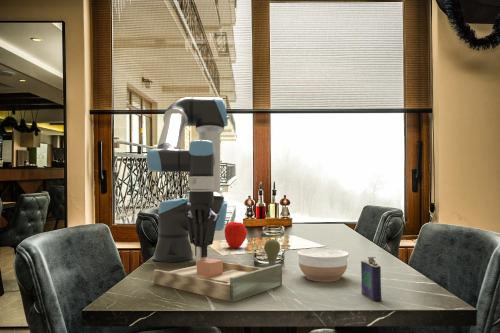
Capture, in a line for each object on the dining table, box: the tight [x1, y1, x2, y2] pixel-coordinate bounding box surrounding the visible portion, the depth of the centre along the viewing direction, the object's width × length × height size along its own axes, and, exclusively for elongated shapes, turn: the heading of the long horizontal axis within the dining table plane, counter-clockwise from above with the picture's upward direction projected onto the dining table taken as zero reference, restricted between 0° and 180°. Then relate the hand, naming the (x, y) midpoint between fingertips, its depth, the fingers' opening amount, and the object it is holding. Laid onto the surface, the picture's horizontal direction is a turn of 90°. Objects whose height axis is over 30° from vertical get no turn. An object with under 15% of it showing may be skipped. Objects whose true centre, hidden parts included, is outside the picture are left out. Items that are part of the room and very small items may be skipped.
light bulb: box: [263, 238, 281, 267], centre depth 151 cm, size 6×6×10 cm
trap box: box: [153, 261, 283, 303], centre depth 127 cm, size 31×22×6 cm
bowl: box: [297, 247, 350, 283], centre depth 136 cm, size 16×16×8 cm
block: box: [197, 258, 224, 277], centre depth 129 cm, size 6×6×4 cm
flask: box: [360, 256, 383, 303], centre depth 114 cm, size 9×3×11 cm, turn 8°
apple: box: [223, 221, 248, 249], centre depth 193 cm, size 10×10×12 cm
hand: (201, 267), depth 131 cm, fingers closed
